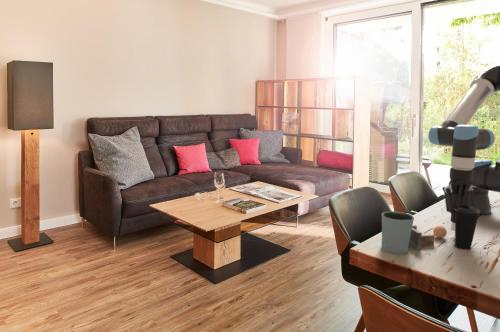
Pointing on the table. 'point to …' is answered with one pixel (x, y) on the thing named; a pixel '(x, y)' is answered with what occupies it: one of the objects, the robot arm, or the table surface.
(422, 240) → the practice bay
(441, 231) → the ball
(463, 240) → the drinking cup
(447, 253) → the table surface
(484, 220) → the table surface
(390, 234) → the blue-grey embossed pot
